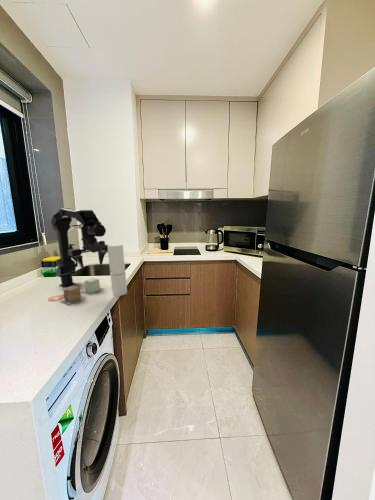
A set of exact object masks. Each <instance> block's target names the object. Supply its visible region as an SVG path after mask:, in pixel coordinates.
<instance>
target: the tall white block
mask: <svg viewBox="0 0 375 500" xmlns="http://www.w3.org/2000/svg"><path fill="white" fill-rule="evenodd" d="M107 245H108V246H107V248H108V252H107V257H108V265H109V274H110V284H111V293H112V296H114V297H115V296H116V297H121V296H124V295H126V294H127V293H128V288H127V287H128V286H127V285H128V284H127V277H126V275H127V274H126V265H125V255H124V253H125V252H124V244H123V243H116V244H113V243H112V244H107Z"/></svg>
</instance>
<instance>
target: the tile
mask: <svg viewBox="0 0 375 500" xmlns="http://www.w3.org/2000/svg"><path fill="white" fill-rule="evenodd" d="M86 299H88V297H85V296H82V295H81V299H80V300H77V301H75V302H72V303H69V302H66V301H65V299H62V300H58V303H61V304H64V305H65V306H66V305H67V306H72V305H74V304H77V303H80V302H82V301H84V300H86Z"/></svg>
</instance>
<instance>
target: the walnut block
mask: <svg viewBox="0 0 375 500" xmlns="http://www.w3.org/2000/svg"><path fill="white" fill-rule="evenodd" d="M62 290H63V295H64V300H65V301H66V302H69V303H72V302H75V301H77V300H80V299H81V296H82V293H80V292H81V288H80V286H78V285H70V286H67V287H63V289H62Z"/></svg>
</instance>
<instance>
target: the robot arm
mask: <svg viewBox="0 0 375 500" xmlns="http://www.w3.org/2000/svg"><path fill="white" fill-rule="evenodd" d="M73 219H75V220H76V222H78V223H79V224H78V227H79V228H80V232H81V241H82V246H81V248H82V249H80V248H70V242H69V236H68V235H69V233H68V232H69V231H70V228H71V223H72V222H73ZM50 223H51V226H52V228H53V230H54V231H55V232H56V234H57V242H58V243H57V244H58V248H59V249H58V250H59V257H60V259H59V261H58V263H57V269H56V271H55V275H56V277H58V278H60V284H59V285H58V286H60V287H62V288H68V287H71V286H75V284H76V282H74V280H73V275H74V274H76V261H77V263H78V265H79V267H80V269H82V270H84V268H85V267H84V262H83V255H82V254H85V253H97V255H98V262H99V265H100V266H102V265H103V262H104V257H105V256H106V254H108V248H107V246H108V245H109V244H106V241H105V240H99V241H98V238H99V237H101V238H102V237H104V236H105V234H106V233H107V232H106V231H107V229H106V227H105V226H104V225H103V224H102V222H101V221H100V220H99V219H98V217H97V215H96V213H95V212H94V210H92V209H72V208H69V207H68V208H66V207H62V208H60V209H59V211H58V212H56V213H55V214H53V216H52V217H51V221H50ZM96 237H98V238H96ZM71 257H72V258H74V259H75V260H76V261H75V260H73V259H72V258H71Z"/></svg>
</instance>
